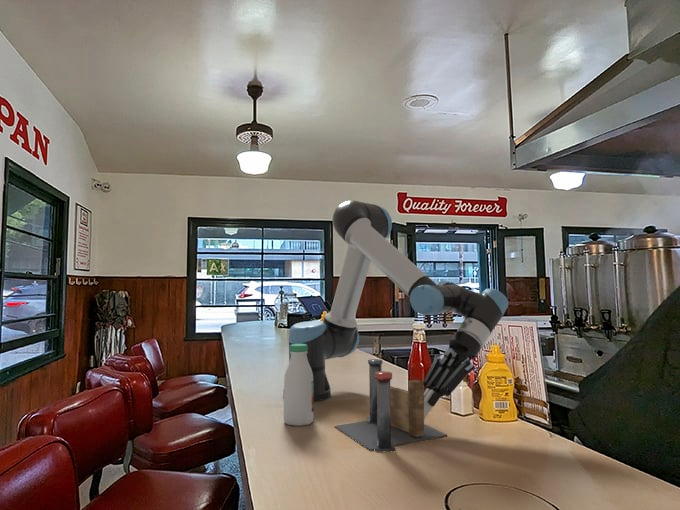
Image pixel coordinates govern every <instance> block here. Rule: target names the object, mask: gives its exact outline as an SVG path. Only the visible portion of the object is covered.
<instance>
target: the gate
mask: <svg viewBox="0 0 680 510" xmlns="http://www.w3.org/2000/svg"><path fill="white" fill-rule="evenodd" d="M423 381H424V380H419V379H413V380H408V381H407V388H408V389H407V390H406V389H403V388H399V387H395V386H392V385H390V392H391V425H392V426H394V427H397V428H400V429H402V430H405V431H407V432H409V434H410V435H413V436H415V437H418V436H422V435H424V424H425V419H424V391H425V389H424V388H425V386H424V382H423Z"/></svg>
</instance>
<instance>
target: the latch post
mask: <svg viewBox="0 0 680 510" xmlns="http://www.w3.org/2000/svg"><path fill="white" fill-rule="evenodd" d="M375 379H377V442H373V444H374V448H375V450H374V452H375V451H389V452H388V453H391V452H390V451H392V452H394V451H395V452H396V451H397V450H396V449H397V448H396V446H394V443H393V442H391V392H390V386H391V380H392V379H393V372H391V371H385V370H382V371H379V372H375Z"/></svg>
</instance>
